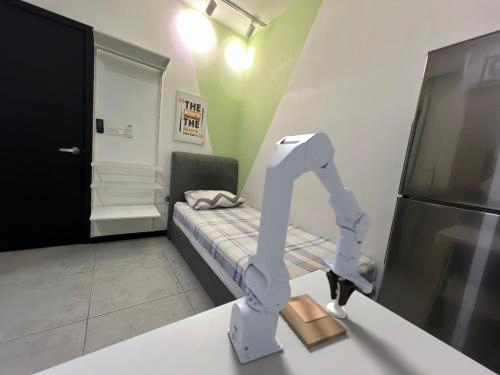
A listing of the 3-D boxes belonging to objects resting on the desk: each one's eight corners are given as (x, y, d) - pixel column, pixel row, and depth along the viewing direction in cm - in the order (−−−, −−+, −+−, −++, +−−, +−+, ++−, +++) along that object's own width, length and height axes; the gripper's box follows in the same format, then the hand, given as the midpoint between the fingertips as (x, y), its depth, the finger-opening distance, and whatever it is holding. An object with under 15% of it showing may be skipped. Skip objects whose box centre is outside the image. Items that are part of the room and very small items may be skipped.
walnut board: (307, 348, 42) (308, 343, 42) (272, 304, 54) (273, 300, 54) (346, 333, 47) (347, 329, 47) (306, 297, 59) (307, 293, 59)
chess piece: (343, 321, 51) (350, 284, 50) (324, 310, 54) (330, 276, 53) (348, 312, 55) (354, 277, 54) (329, 302, 58) (335, 270, 57)
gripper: (384, 265, 48) (373, 318, 49) (335, 242, 61) (328, 284, 62) (365, 269, 45) (354, 324, 46) (318, 243, 58) (310, 287, 59)
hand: (338, 301), depth 54 cm, fingers closed on chess piece
